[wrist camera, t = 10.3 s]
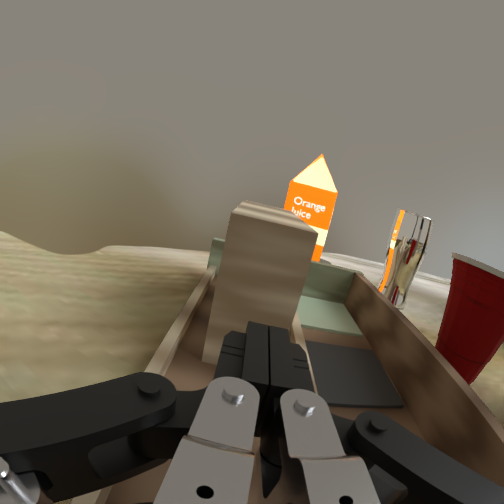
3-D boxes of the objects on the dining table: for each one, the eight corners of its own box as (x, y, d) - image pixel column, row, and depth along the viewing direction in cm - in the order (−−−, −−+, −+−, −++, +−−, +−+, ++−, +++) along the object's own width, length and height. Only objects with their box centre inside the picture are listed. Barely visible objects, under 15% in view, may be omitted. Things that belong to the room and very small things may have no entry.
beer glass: (414, 310, 41) (442, 224, 37) (386, 309, 39) (417, 213, 35) (390, 294, 47) (414, 215, 44) (362, 291, 45) (388, 205, 42)
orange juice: (267, 268, 46) (297, 147, 42) (276, 258, 55) (301, 155, 50) (314, 282, 45) (346, 159, 40) (315, 269, 53) (342, 166, 49)
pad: (290, 295, 34) (290, 293, 34) (342, 306, 34) (343, 304, 34) (297, 326, 26) (298, 323, 26) (361, 337, 26) (362, 334, 26)
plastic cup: (496, 383, 20) (540, 286, 17) (469, 416, 15) (535, 287, 12) (436, 343, 29) (470, 255, 27) (392, 358, 24) (437, 244, 22)
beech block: (225, 289, 31) (244, 200, 29) (268, 298, 32) (291, 211, 29) (201, 361, 18) (231, 212, 16) (274, 376, 18) (318, 233, 16)
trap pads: (301, 342, 23) (302, 339, 23) (371, 352, 24) (372, 349, 23) (345, 579, 4) (349, 577, 4) (464, 537, 4) (468, 534, 4)
